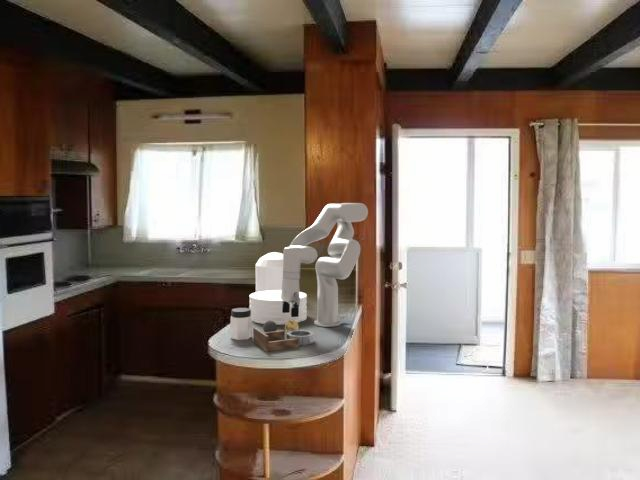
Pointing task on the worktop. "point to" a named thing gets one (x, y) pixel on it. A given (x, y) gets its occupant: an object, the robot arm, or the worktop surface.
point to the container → (269, 272)
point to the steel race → (301, 336)
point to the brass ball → (291, 325)
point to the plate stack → (274, 307)
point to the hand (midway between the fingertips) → (290, 314)
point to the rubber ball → (269, 326)
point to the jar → (241, 323)
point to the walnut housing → (264, 339)
